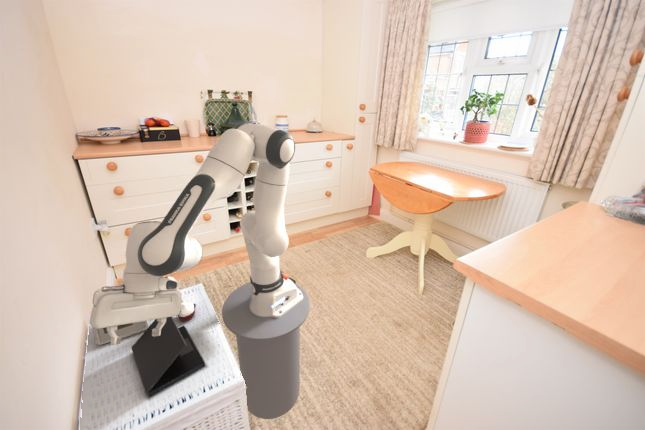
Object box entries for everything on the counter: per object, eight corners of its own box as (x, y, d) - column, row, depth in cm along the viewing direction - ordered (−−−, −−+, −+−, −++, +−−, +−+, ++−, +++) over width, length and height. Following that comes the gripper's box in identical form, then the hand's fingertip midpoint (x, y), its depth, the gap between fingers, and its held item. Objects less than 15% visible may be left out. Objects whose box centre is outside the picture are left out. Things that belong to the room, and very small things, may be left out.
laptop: (184, 328, 107) (183, 325, 106) (205, 366, 93) (204, 362, 92) (134, 352, 97) (133, 347, 96) (149, 397, 83) (148, 393, 83)
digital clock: (94, 348, 98) (85, 324, 93) (102, 328, 105) (94, 305, 101) (149, 336, 103) (142, 313, 99) (152, 318, 111) (147, 296, 106)
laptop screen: (167, 307, 100) (165, 307, 99) (187, 344, 86) (184, 344, 85) (133, 348, 96) (131, 347, 96) (148, 393, 83) (145, 393, 82)
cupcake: (195, 308, 116) (190, 284, 111) (201, 317, 112) (197, 292, 107) (170, 320, 110) (164, 294, 106) (175, 329, 106) (169, 304, 101)
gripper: (100, 288, 65) (91, 353, 63) (186, 282, 82) (181, 333, 80) (89, 286, 68) (81, 347, 66) (173, 280, 85) (169, 330, 83)
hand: (136, 340), depth 73 cm, fingers open, 8 cm apart
